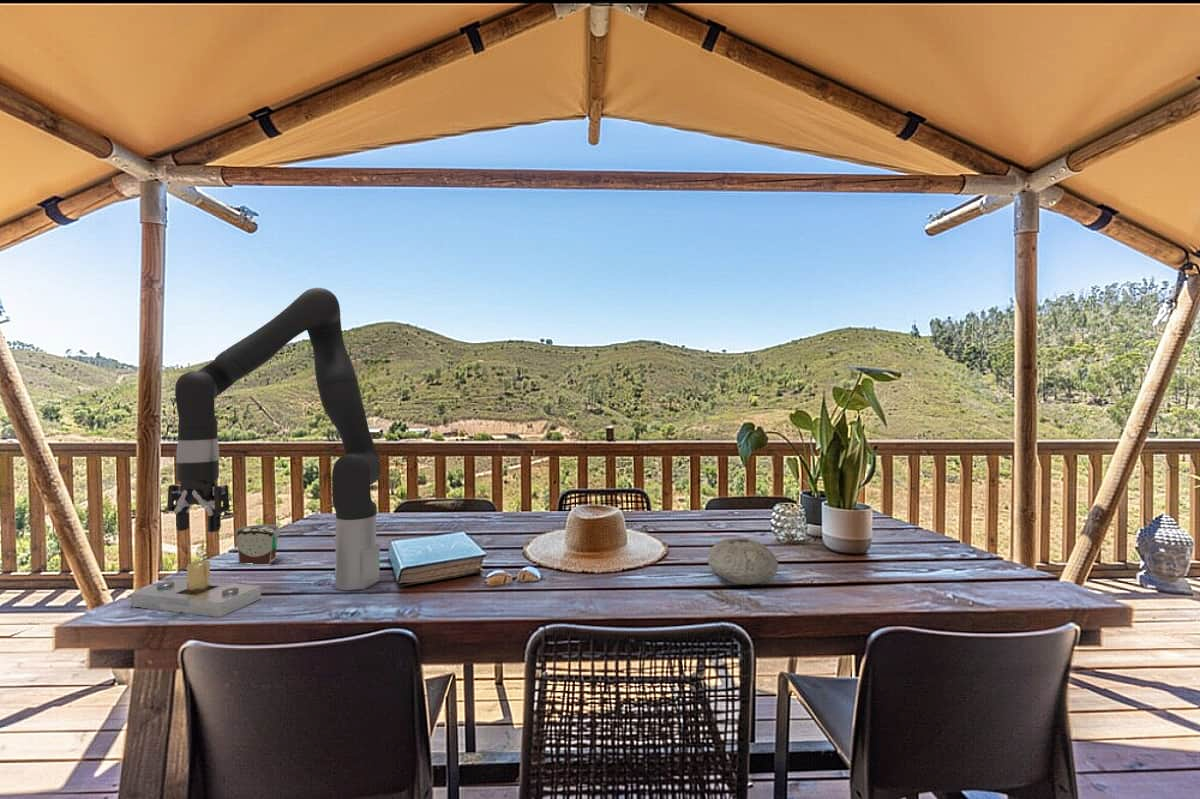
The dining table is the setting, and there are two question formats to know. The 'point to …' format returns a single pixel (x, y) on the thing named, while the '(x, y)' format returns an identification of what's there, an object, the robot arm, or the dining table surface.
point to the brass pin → (198, 577)
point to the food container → (257, 543)
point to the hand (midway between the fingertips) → (198, 530)
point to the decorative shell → (742, 561)
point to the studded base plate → (196, 598)
